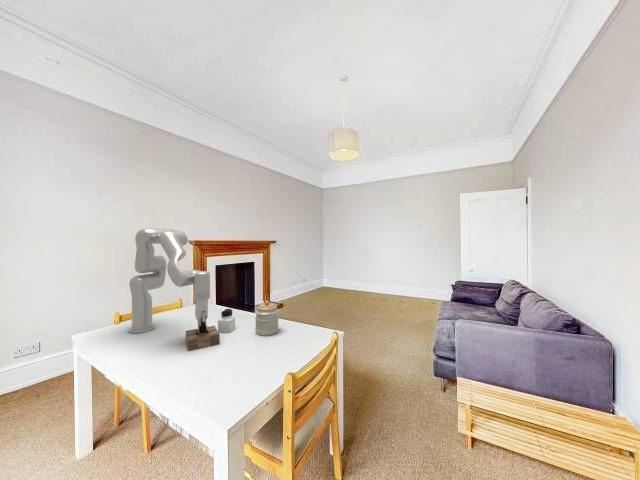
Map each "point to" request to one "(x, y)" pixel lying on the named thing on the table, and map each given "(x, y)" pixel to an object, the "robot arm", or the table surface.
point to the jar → (266, 319)
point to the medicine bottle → (226, 321)
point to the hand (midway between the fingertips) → (202, 331)
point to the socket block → (202, 338)
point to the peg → (198, 328)
